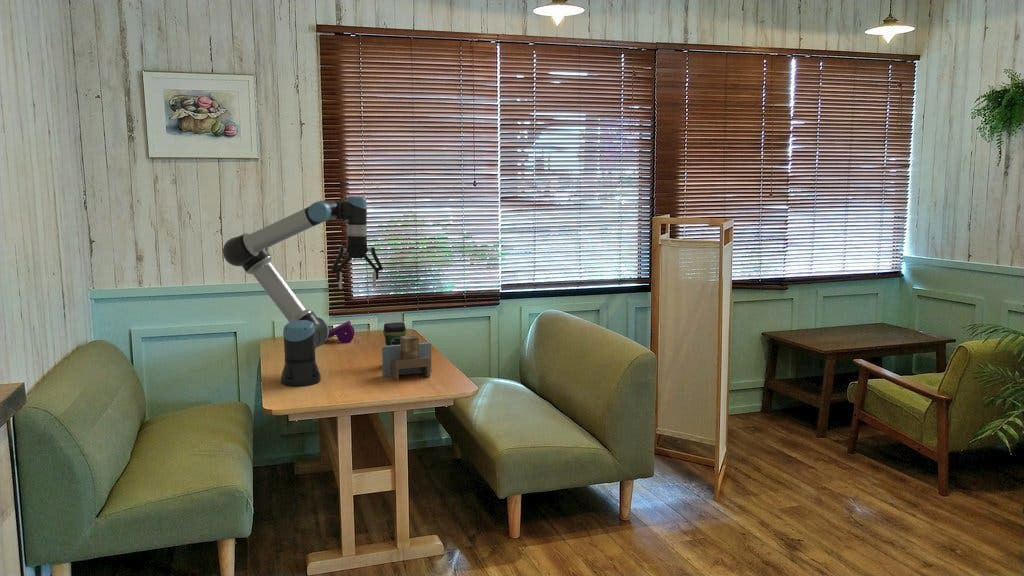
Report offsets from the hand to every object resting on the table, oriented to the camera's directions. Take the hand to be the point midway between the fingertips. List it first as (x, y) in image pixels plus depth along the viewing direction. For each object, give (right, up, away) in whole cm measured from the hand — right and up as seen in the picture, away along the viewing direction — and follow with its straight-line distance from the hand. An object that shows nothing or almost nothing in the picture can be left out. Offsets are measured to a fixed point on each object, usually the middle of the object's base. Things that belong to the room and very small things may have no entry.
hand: (357, 288), depth 314 cm
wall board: (+21, -35, +2) cm, 41 cm away
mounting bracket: (-25, -27, +71) cm, 80 cm away
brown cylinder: (+21, -30, +1) cm, 36 cm away
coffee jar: (+12, -33, +20) cm, 41 cm away
